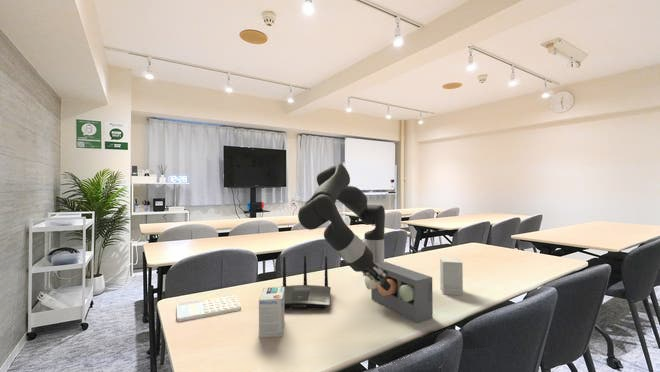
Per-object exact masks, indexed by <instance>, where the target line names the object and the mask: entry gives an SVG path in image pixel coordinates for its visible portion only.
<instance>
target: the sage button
mask: <svg viewBox="0 0 660 372" xmlns="http://www.w3.org/2000/svg"><path fill="white" fill-rule="evenodd" d="M399 293H400V297H401V298H402V300H403V301H405V302H408V301H412V300H414V286H412V285H409V284H407V285H402V286H401V287H400V289H399Z"/></svg>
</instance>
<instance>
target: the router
mask: <svg viewBox="0 0 660 372" xmlns="http://www.w3.org/2000/svg"><path fill="white" fill-rule="evenodd" d="M282 258H283V259H282V261H283V262H282V285H281V287H284V310H289V309H290V310H295V311H296V310H297V311H298V310H308V309H309V310H310V309H311V310H312V309H315V310H316V309H318V310H319V309H323V310H324V309H326V308H327V306H330V305H331V302H330V301H331V289H332V288H331V286H329V277H328V274H329V273H328V272H329V271H328V256H327V255H325V257H324V285H319V284H318V285H315V284H313V285H311V284H308V275H307V273H308V271H307V255H306V254H304V255H303V284H297V285H296V284H294V285H287V271H286V269H287V267H286V256H285V255H283V256H282Z"/></svg>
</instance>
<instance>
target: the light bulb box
mask: <svg viewBox="0 0 660 372" xmlns="http://www.w3.org/2000/svg"><path fill="white" fill-rule="evenodd" d="M284 325H285V309H284V287H282V286H278V287H276V286H275V287H274V286H273V287H263V289H262V293H261V295H260V297H259V299H258V338H281V337H282V336H283V333H284V332H283V331H284Z"/></svg>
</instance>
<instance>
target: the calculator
mask: <svg viewBox="0 0 660 372" xmlns="http://www.w3.org/2000/svg"><path fill="white" fill-rule="evenodd" d="M238 311H242V305H241V303H240V302H239V300H238V298H237V296H236V295H233V294H231V295H226V296H222V297H221V296H220V297H215V298H209V299H202V300H196V301H195V300H194V301H190V302H183V303H178V304H177V305H176V321H177V322H184V321H191V320H195V319H201V318H206V317H211V316H218V315H222V314H223V315H224V314H227V313H234V312H238Z"/></svg>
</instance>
